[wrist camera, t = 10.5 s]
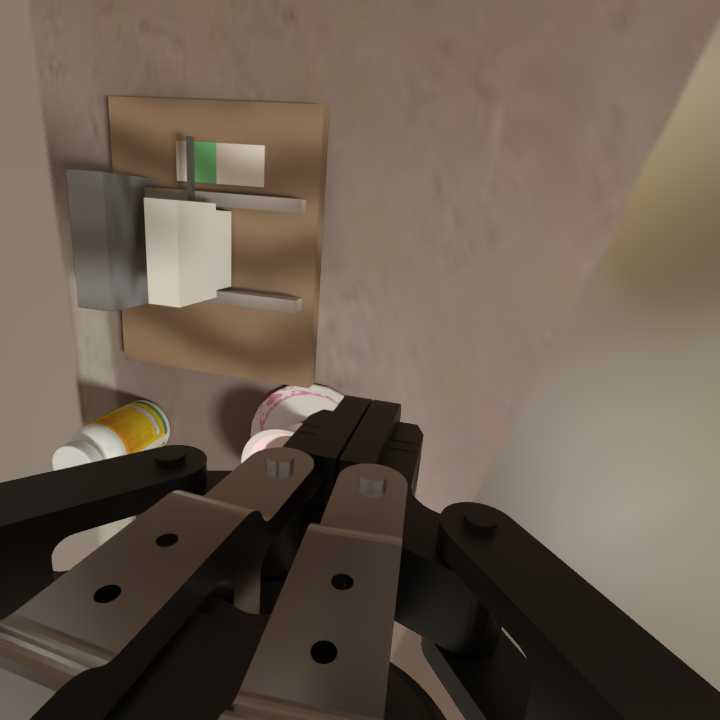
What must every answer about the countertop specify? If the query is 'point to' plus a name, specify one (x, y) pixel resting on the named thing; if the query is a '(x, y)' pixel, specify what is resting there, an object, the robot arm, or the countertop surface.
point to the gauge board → (248, 232)
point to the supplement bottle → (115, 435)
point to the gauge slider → (186, 246)
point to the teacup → (287, 415)
